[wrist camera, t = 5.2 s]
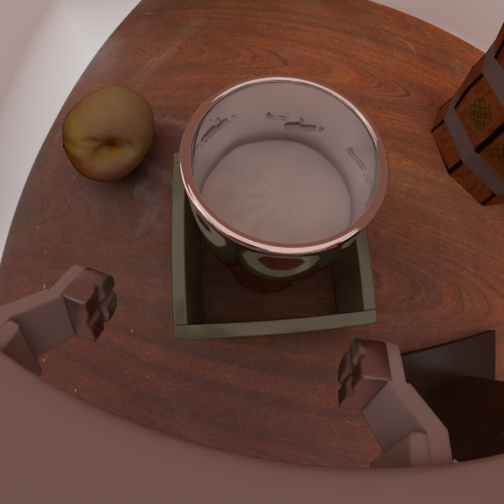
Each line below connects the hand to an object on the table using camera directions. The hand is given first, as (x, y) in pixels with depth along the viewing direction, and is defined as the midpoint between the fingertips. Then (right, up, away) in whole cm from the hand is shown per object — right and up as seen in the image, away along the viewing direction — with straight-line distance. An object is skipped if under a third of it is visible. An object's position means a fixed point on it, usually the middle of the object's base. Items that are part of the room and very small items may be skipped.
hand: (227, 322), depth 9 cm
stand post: (+18, -12, +11) cm, 24 cm away
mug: (+29, +13, +16) cm, 36 cm away
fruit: (-11, +11, +16) cm, 22 cm away
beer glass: (+2, +2, +14) cm, 14 cm away
